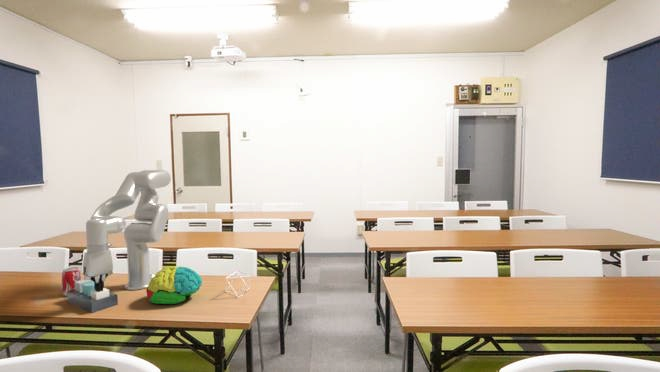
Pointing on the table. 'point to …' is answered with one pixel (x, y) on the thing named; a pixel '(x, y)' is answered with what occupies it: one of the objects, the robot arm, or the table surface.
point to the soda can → (69, 279)
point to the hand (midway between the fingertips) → (99, 290)
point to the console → (91, 301)
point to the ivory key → (99, 294)
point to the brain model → (173, 285)
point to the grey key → (80, 285)
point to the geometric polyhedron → (242, 279)
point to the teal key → (88, 288)
